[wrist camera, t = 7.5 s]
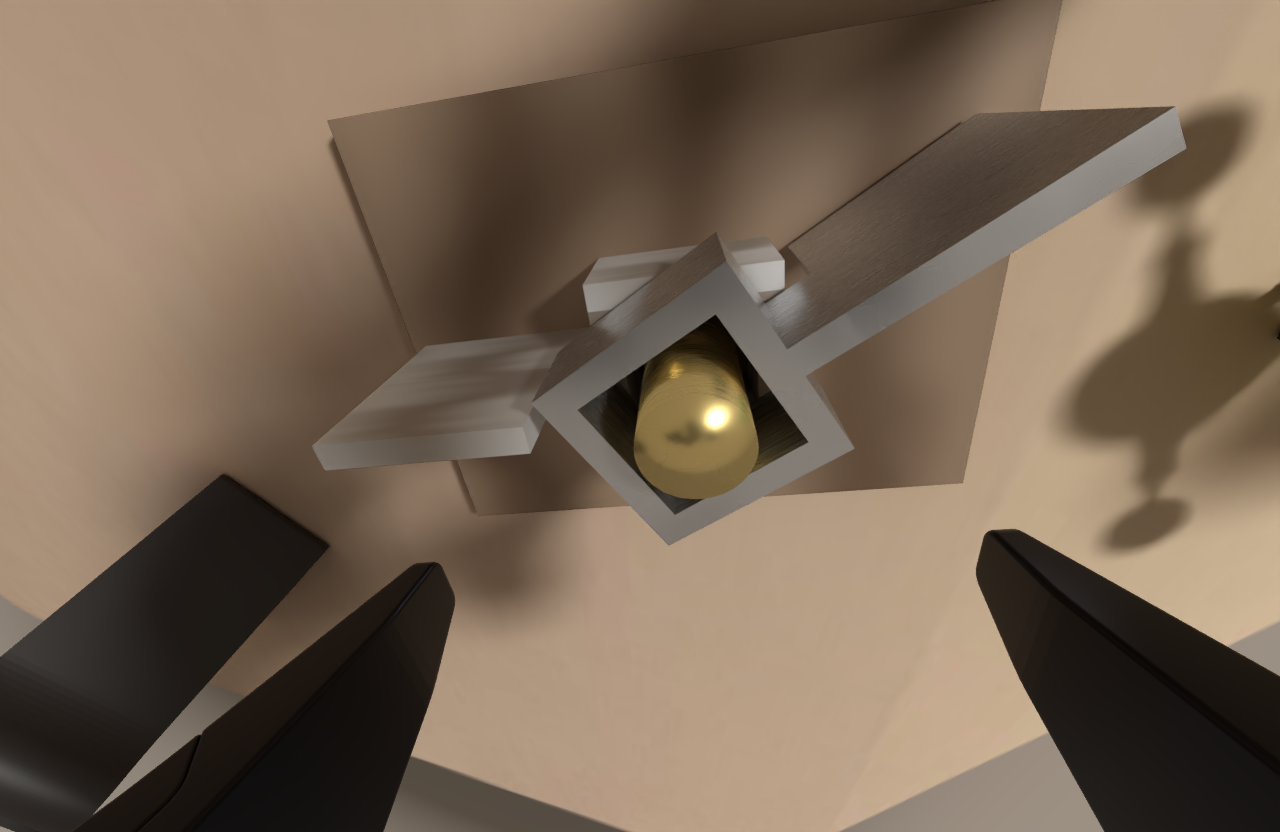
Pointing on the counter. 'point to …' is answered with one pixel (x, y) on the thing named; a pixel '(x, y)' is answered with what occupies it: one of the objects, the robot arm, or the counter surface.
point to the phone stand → (137, 652)
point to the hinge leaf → (844, 290)
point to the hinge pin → (695, 417)
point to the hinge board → (670, 238)
